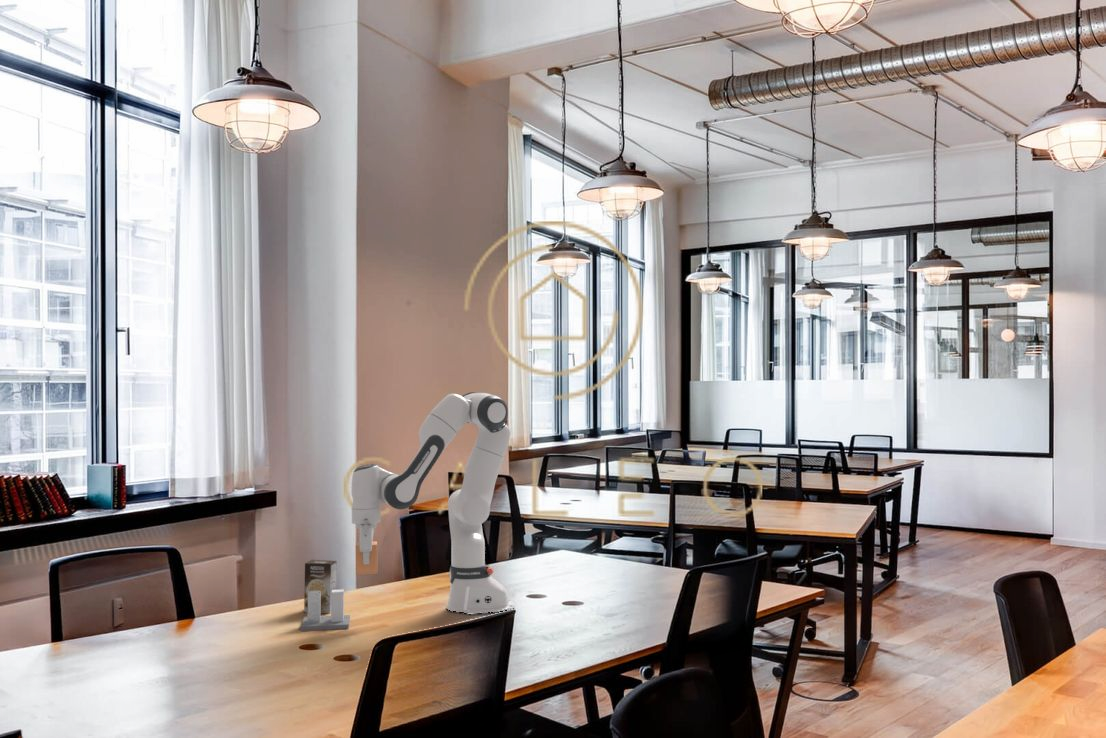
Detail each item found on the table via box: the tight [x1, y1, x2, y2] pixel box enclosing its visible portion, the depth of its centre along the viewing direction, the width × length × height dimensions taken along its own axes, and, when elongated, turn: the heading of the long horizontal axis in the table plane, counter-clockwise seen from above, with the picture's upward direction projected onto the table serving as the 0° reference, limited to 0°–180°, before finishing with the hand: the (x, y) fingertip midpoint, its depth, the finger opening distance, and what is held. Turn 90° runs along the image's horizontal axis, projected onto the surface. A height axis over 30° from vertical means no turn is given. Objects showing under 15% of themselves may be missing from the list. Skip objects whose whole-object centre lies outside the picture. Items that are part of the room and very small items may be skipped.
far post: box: [307, 590, 322, 623], centre depth 275 cm, size 4×4×10 cm
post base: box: [300, 588, 351, 632], centre depth 276 cm, size 14×12×10 cm
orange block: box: [355, 540, 379, 575], centre depth 279 cm, size 6×6×9 cm
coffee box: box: [303, 559, 338, 614], centre depth 294 cm, size 9×6×16 cm
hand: (366, 561), depth 279 cm, fingers closed on orange block, 6 cm apart
